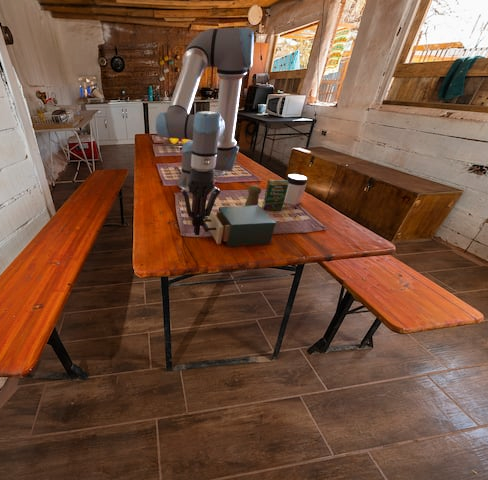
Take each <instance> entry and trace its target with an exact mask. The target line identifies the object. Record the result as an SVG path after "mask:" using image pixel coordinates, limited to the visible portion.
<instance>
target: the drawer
mask: <svg viewBox="0 0 488 480" xmlns="http://www.w3.org/2000/svg"><path fill="white" fill-rule="evenodd" d="M201 227H202V228H203V230H204V232H206V233H208V232H209V231H210V233H211V235H212V238H213V239H214V241H215V243H216V244H217V245H221V243H222V242H224V243H225V242H228V237H229V232H230V224H229V223H228V221H227V220H226V219H225V217H224V216H223V214H222V213H221V211H219V210H217V211H216V212H214V210H213V209H212V210H211V213H210V216H208V219H204V222H203V226H201Z"/></svg>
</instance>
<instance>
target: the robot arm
mask: <svg viewBox="0 0 488 480" xmlns="http://www.w3.org/2000/svg"><path fill="white" fill-rule="evenodd" d="M254 36H255V35H254V31H253V29H252V28H250V27H225V28H224V27H222V28H215V27H213V28H208V29H205V30H204V31H202V32H200V33H199V34H197V36H195V37H194V38H193V39H192V40H191V41H190V43H189V44H188V45H187V47H186V48H185V51H184V53H183V56H182V67H181V70H180V73H179V76H178V78H177V81H176V85H175V88H174V89H173V90H174V91H173V94H172V96H171V99H170V102H169V106H168V107H167V109H166V112H165V111H164V112H159V113H158V114H157V115H156V118H155V125H154V126H155V132H156V134H157V136H158V137H160V138H166V139H178V140H186V141H185V142H184V143H183V144H182V151H181V170H180V168H178V166H175V167H174V170H177V171H178V172H179V177H178V180H177V184H176V185H177V186H176V187H177V188H178V189H179V190H180V192H181V194H182V196H183V199H184V205H185V208H186V214H187V216H188V217H189V218H191V225H192V227H193V232H194V233H193V234H194V236H200V235H201V234H200V233H201V227H202V226H203V222H204V220H206V217H209V216H210V213H211V210H213V208H214V205H215V202H216V200H217V197H218V196H219V195H220V194H221V190H220V188H219V187H217V186H215V183H214V180H215V175H214V174H215V170H220V171H224V172H232V171H233V169H234V166H235V163H236V159H237V157H238V152H239V149H240V147H239V146H238V145H237V141H236V139H235V132H236V125H237V118H238V111H239V105H240V104H239V103H240V97H241V96H240V95H241V89H242V82H243V78H244V77H245V76H246V75H247V74H248V69H251V68H252V67H253V61H254V59H253V58H254V46H255V45H254V41H255V39H254V38H255V37H254ZM207 68H216V74H217V76H218V77H219V83H218V84H219V85H218V96H217V108H216V111H210V110H209V111H204V110H203V111H197V112H196V113H195V114H191V111H192V106H193V104H194V100H195V97H196V94H197V91H198V88H199V85H200V82H201V78H202V75H203V73H205V72H206V70H207ZM190 193H191V194H192V199H193V210H192V206H191V202H190V197H189V195H190ZM208 195H210V196H209V197H208ZM199 197H201V202H200V213H199V214H200V216H199V215H197V213H198V203H199ZM207 200H208V201H207ZM191 211H192V212H191Z"/></svg>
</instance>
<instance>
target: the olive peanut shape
mask: <svg viewBox="0 0 488 480" xmlns="http://www.w3.org/2000/svg"><path fill="white" fill-rule="evenodd" d="M247 191H248V195H247V198H246V200H245V203H244V206H256V205H259V198H260V195H261V193H262V192H261V191H262V187H261V186H259V185H256V184H253V185H250V186H249V187H248V189H247Z"/></svg>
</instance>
